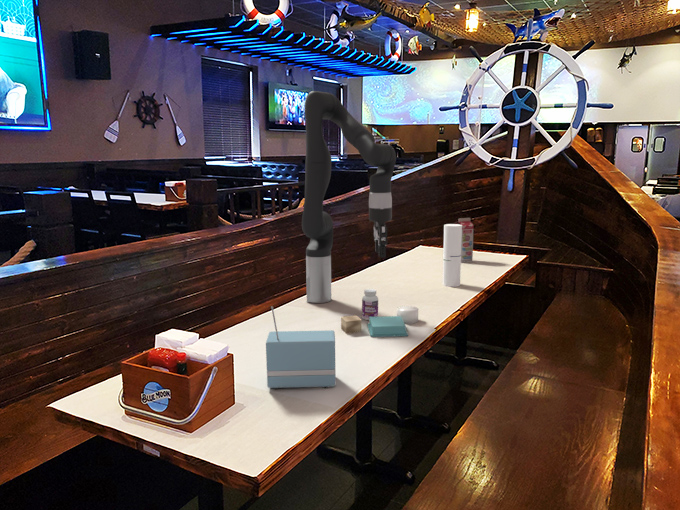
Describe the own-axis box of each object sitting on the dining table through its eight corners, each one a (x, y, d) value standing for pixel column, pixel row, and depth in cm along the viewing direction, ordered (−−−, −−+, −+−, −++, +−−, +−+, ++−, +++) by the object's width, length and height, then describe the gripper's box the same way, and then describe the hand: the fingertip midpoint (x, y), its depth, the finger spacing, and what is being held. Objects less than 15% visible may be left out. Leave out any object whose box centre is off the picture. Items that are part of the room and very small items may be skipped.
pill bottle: (364, 321, 175) (364, 292, 173) (360, 316, 180) (359, 288, 178) (380, 319, 177) (380, 291, 175) (375, 315, 182) (375, 287, 180)
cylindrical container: (460, 287, 219) (462, 226, 214) (442, 286, 220) (443, 226, 216) (459, 283, 226) (461, 224, 221) (442, 282, 227) (444, 223, 222)
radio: (335, 374, 133) (334, 296, 130) (335, 390, 124) (334, 307, 121) (271, 375, 133) (268, 297, 129) (267, 391, 124) (264, 308, 120)
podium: (370, 336, 160) (370, 327, 159) (367, 325, 171) (367, 316, 170) (407, 336, 160) (408, 326, 160) (402, 324, 171) (402, 315, 171)
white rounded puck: (398, 324, 172) (398, 312, 172) (395, 317, 179) (395, 306, 178) (420, 323, 173) (420, 311, 172) (416, 317, 179) (416, 305, 179)
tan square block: (346, 334, 163) (346, 321, 163) (341, 329, 168) (341, 317, 167) (361, 332, 165) (361, 319, 164) (356, 327, 169) (356, 315, 169)
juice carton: (454, 260, 274) (455, 217, 270) (465, 259, 276) (466, 217, 272) (460, 262, 268) (461, 219, 264) (472, 261, 270) (473, 218, 266)
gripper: (366, 204, 182) (366, 251, 185) (371, 208, 168) (371, 259, 171) (388, 204, 182) (388, 251, 185) (395, 208, 168) (395, 258, 171)
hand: (380, 254), depth 178 cm, fingers open, 8 cm apart
